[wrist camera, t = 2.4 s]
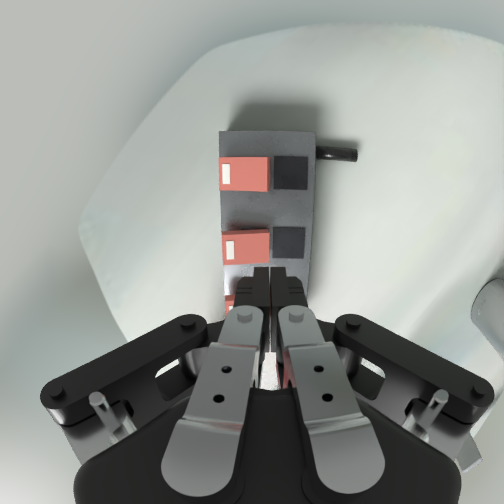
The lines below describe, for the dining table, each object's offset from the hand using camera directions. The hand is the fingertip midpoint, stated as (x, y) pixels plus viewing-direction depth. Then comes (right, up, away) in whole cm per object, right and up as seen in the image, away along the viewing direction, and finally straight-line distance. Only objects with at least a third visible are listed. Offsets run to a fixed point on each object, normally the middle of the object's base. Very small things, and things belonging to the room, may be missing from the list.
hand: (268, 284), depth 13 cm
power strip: (+3, +4, +18) cm, 19 cm away
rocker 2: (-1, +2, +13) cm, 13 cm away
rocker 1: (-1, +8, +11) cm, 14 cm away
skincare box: (+57, -48, +35) cm, 82 cm away
